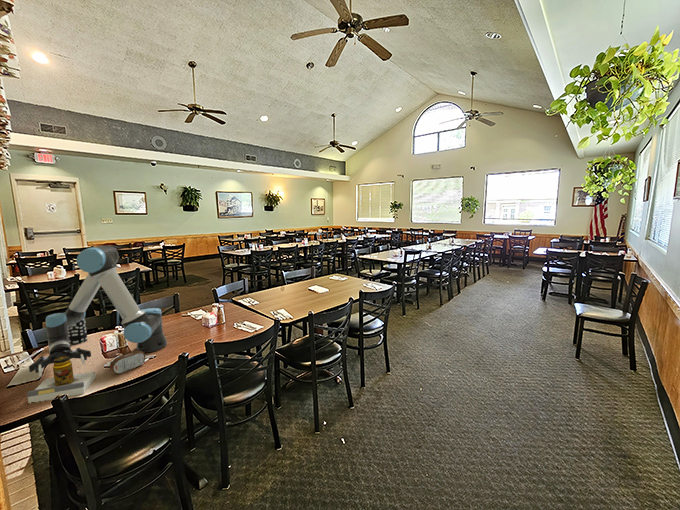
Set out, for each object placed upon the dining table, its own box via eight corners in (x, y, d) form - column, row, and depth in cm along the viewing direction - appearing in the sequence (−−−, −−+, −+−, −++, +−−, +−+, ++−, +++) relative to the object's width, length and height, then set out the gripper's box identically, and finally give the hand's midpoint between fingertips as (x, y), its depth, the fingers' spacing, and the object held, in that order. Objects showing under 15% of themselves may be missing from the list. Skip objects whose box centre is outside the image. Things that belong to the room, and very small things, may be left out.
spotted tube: (90, 340, 179) (87, 308, 176) (74, 345, 171) (71, 313, 168) (81, 338, 182) (78, 307, 179) (65, 343, 174) (61, 311, 171)
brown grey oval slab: (144, 362, 154) (142, 347, 152) (147, 364, 152) (145, 349, 151) (110, 375, 141) (108, 359, 140) (113, 377, 139) (111, 361, 138)
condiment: (61, 389, 125) (58, 362, 123) (46, 386, 127) (43, 360, 125) (80, 379, 132) (77, 354, 130) (65, 377, 134) (62, 352, 132)
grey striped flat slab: (95, 377, 139) (94, 367, 139) (83, 394, 126) (82, 383, 126) (46, 385, 132) (44, 375, 131) (28, 404, 119) (26, 392, 119)
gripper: (94, 350, 150) (100, 365, 135) (23, 367, 132) (21, 387, 118) (92, 336, 149) (98, 350, 134) (21, 352, 131) (18, 370, 117)
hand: (62, 367), depth 126 cm, fingers open, 13 cm apart
